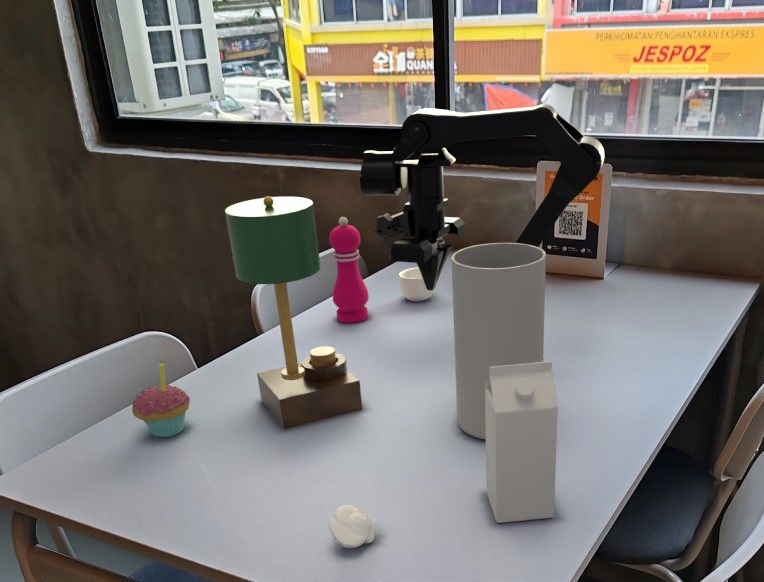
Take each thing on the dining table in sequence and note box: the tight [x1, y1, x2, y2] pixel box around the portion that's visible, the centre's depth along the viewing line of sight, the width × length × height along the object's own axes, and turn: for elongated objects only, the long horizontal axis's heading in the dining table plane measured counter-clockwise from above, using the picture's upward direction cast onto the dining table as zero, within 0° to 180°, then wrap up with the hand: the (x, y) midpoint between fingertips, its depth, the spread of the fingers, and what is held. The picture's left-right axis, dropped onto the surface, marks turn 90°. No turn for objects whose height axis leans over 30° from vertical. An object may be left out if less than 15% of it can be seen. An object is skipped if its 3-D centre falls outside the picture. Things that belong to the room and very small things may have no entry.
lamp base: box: [256, 352, 363, 430], centre depth 131 cm, size 13×12×7 cm
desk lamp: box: [224, 195, 321, 380], centre depth 119 cm, size 12×12×26 cm
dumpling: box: [328, 504, 377, 549], centre depth 98 cm, size 7×5×4 cm
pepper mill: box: [328, 216, 370, 324], centre depth 162 cm, size 7×7×20 cm
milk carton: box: [485, 360, 559, 524], centre depth 98 cm, size 7×7×19 cm
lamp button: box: [309, 345, 336, 367], centre depth 130 cm, size 4×4×2 cm
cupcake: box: [131, 358, 191, 438], centre depth 125 cm, size 9×8×12 cm
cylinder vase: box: [451, 242, 547, 441], centre depth 116 cm, size 12×12×25 cm
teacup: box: [398, 267, 436, 302], centre depth 175 cm, size 10×8×5 cm
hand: (430, 289), depth 141 cm, fingers closed
